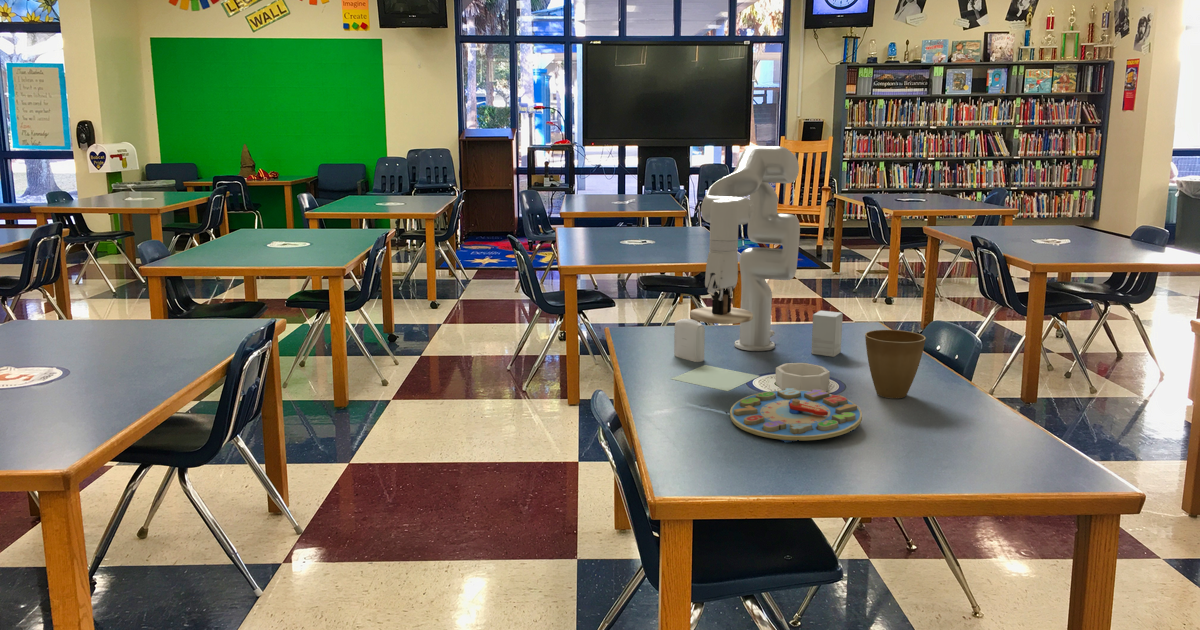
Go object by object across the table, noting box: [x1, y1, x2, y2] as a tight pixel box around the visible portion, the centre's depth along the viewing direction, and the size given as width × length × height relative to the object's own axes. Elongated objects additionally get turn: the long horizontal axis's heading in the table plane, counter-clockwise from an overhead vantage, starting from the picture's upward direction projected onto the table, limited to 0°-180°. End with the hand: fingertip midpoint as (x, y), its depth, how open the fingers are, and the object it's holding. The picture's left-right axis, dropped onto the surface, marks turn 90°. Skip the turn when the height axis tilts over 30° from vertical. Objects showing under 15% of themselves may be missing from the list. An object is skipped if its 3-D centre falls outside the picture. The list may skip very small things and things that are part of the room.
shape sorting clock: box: [729, 388, 863, 443], centre depth 209 cm, size 31×30×6 cm
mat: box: [670, 364, 761, 392], centre depth 244 cm, size 18×18×1 cm
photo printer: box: [673, 318, 706, 363], centre depth 263 cm, size 10×4×12 cm, turn 39°
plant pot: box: [864, 329, 926, 399], centre depth 230 cm, size 15×15×16 cm
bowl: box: [774, 362, 831, 392], centre depth 237 cm, size 13×13×5 cm
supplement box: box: [811, 310, 844, 358], centre depth 271 cm, size 7×7×13 cm
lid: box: [689, 294, 753, 325], centre depth 239 cm, size 17×17×6 cm
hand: (721, 312), depth 240 cm, fingers closed on lid, 3 cm apart
